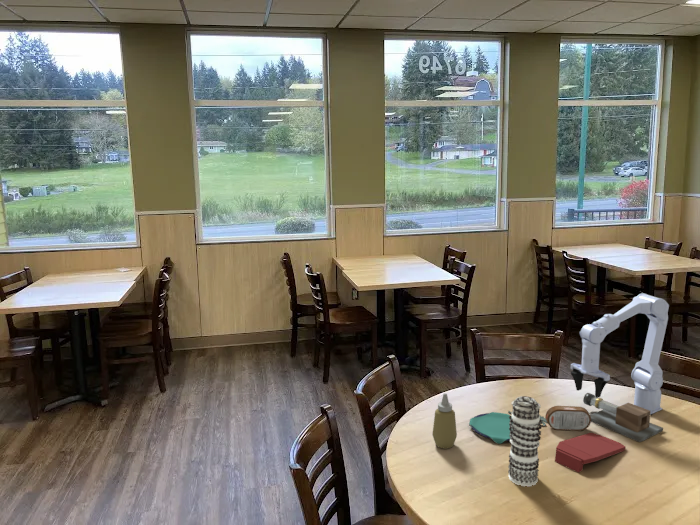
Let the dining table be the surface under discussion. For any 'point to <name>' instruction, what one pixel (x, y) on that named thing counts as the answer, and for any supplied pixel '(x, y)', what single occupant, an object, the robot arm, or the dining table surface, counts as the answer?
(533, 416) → the decorative candle
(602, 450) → the red bent panel
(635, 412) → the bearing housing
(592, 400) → the shaft
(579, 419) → the tin
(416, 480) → the dining table surface
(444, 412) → the squeeze bottle
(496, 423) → the green flat slab
